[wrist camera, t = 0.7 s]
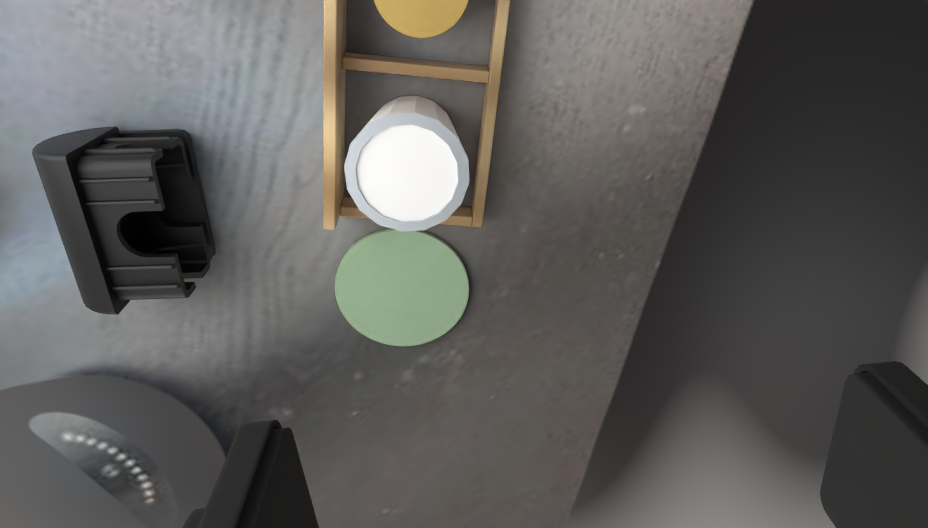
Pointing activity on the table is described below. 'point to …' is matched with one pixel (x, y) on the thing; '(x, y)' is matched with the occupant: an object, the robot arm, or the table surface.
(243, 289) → the table surface
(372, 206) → the shot glass
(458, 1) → the coffee pod
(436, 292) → the coaster
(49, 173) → the end cap
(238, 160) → the table surface
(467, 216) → the pod caddy
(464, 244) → the table surface
